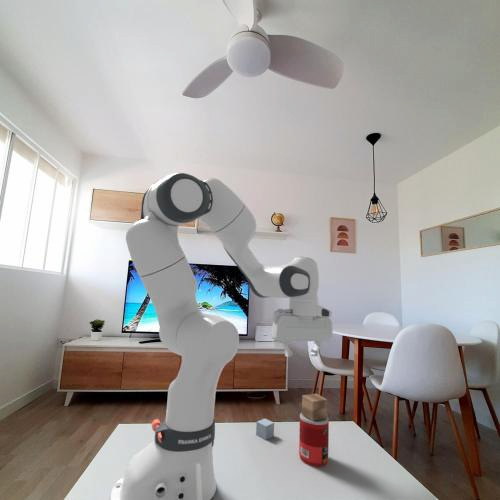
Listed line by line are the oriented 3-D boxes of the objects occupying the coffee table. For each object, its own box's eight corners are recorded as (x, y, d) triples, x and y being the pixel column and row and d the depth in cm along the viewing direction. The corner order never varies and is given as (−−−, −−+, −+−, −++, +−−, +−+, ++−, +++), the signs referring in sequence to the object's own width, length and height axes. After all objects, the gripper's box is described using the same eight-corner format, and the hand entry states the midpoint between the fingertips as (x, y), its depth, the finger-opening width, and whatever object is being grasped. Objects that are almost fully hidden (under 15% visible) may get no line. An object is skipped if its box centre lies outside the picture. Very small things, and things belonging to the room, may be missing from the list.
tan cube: (312, 421, 77) (312, 401, 78) (301, 413, 82) (302, 395, 82) (327, 418, 79) (327, 399, 80) (316, 411, 84) (316, 393, 84)
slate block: (265, 440, 87) (266, 426, 88) (256, 435, 90) (256, 421, 91) (273, 436, 90) (274, 422, 91) (264, 431, 93) (264, 418, 93)
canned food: (329, 469, 74) (329, 424, 76) (298, 464, 76) (299, 419, 77) (327, 453, 81) (327, 412, 83) (299, 449, 83) (300, 409, 85)
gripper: (279, 309, 81) (276, 359, 79) (336, 311, 89) (335, 357, 86) (269, 307, 87) (266, 354, 84) (323, 310, 94) (322, 353, 92)
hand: (301, 356), depth 85 cm, fingers open, 8 cm apart
